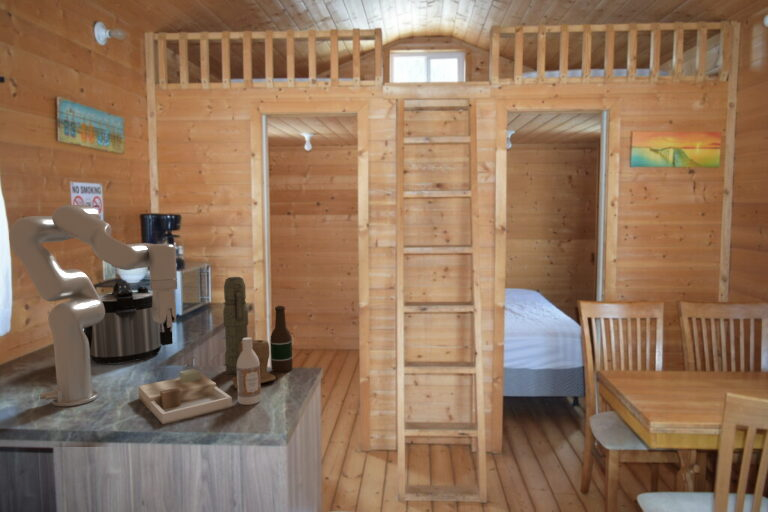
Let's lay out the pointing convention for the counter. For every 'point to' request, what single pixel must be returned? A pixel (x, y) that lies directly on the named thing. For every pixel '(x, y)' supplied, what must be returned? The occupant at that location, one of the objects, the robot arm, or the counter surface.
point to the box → (193, 407)
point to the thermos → (234, 320)
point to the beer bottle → (281, 344)
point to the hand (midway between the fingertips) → (166, 344)
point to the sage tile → (189, 375)
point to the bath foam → (248, 375)
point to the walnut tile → (170, 398)
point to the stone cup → (263, 355)
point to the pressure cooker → (124, 327)
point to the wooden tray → (186, 389)
